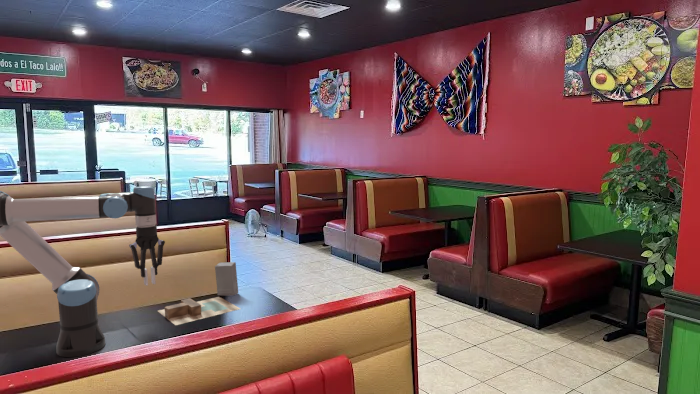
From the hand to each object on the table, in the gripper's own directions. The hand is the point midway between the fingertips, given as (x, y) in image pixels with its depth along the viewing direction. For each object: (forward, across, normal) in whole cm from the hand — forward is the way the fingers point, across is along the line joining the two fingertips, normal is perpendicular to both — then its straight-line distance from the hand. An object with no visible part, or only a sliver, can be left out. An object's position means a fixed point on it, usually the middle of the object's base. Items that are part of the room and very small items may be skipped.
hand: (149, 283), depth 188 cm
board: (+16, +20, 0) cm, 26 cm away
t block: (+15, +12, 0) cm, 19 cm away
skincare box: (+17, +38, +13) cm, 44 cm away
